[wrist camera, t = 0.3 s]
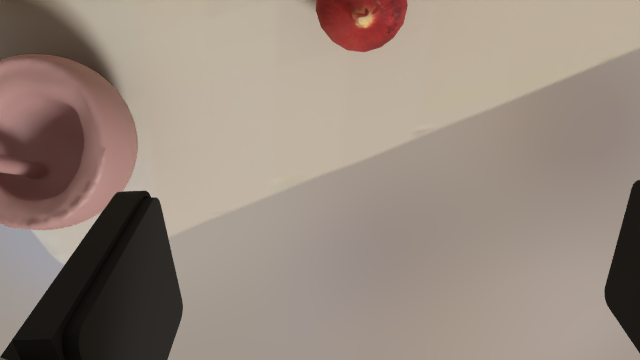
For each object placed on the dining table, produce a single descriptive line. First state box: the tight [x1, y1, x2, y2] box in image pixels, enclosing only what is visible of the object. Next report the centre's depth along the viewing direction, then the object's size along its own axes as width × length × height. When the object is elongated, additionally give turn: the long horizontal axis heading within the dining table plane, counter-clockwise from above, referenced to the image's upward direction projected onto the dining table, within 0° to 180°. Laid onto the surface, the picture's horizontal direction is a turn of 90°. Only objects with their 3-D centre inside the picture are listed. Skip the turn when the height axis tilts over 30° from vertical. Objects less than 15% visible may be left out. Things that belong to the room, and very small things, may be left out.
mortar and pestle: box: [0, 54, 138, 230], centre depth 37 cm, size 12×12×12 cm
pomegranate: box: [316, 0, 407, 52], centre depth 34 cm, size 6×6×8 cm
